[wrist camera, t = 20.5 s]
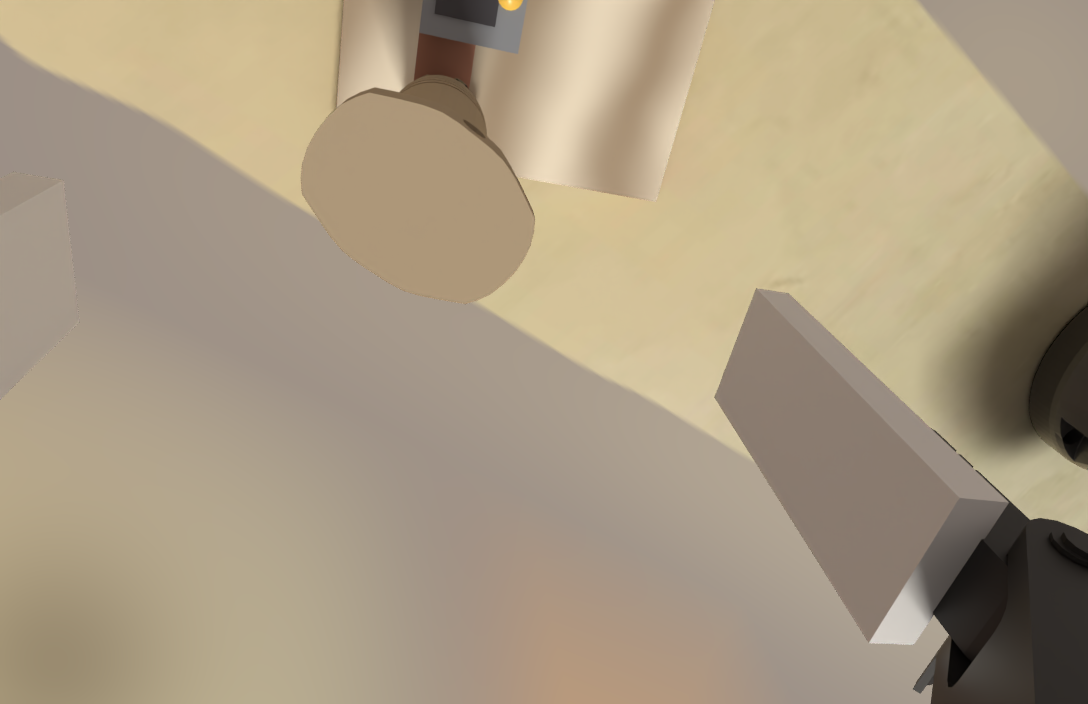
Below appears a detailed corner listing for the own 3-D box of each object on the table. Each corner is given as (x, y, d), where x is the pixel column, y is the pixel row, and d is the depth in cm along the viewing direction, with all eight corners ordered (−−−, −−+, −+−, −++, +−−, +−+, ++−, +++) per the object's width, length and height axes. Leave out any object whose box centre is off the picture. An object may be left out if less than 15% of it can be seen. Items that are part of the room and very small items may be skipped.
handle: (413, 15, 30) (368, 51, 17) (528, 111, 32) (567, 208, 19) (352, 106, 31) (268, 204, 18) (466, 192, 34) (464, 332, 21)
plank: (707, -15, 32) (719, -14, 31) (648, 193, 37) (656, 202, 35) (355, -105, 29) (350, -108, 27) (338, 137, 33) (333, 144, 32)
